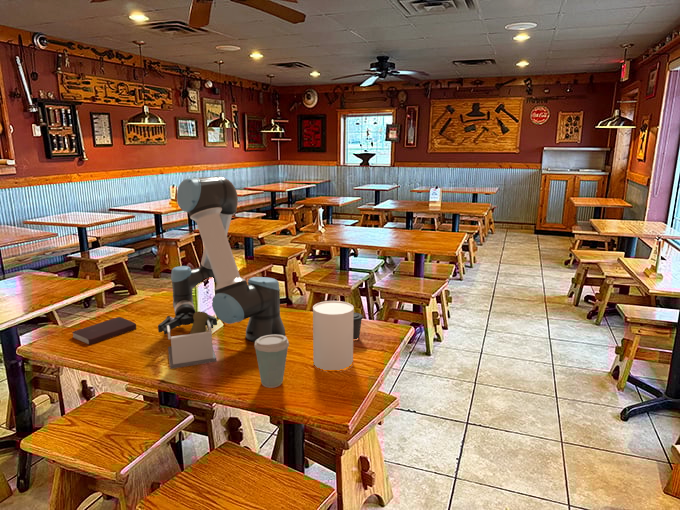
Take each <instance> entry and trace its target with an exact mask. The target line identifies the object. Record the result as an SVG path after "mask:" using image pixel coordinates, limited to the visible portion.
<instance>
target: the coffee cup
mask: <svg viewBox="0 0 680 510" xmlns="http://www.w3.org/2000/svg"><path fill="white" fill-rule="evenodd" d="M362 319H364V317H363V315H362V314H361V313H359V312H354V318H353V339H357V338H359V339H360V337H361V336H360V333H361V327H362Z"/></svg>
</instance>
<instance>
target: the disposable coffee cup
mask: <svg viewBox="0 0 680 510" xmlns="http://www.w3.org/2000/svg"><path fill="white" fill-rule="evenodd" d="M253 345H254V349H255V354H256V360H257V365H258V372H259V376H260V377H259V378H260V382H261V384H262V385H261V386H263V387H265V388H270V389H271V388H277V387H280V386H281V385H282V384H283V382H284V378H285V377H284V375H285V369H286V362H287V357H288V356H287V355H288V350H289V349H288V348H289V346H290V343H289V339H288V337H287V336H286V335H285V336H283V335H276V334H274V335H266V336H262V337H260V338H258V339H257V340H256V341H255V342H254V344H253Z"/></svg>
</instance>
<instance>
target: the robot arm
mask: <svg viewBox="0 0 680 510" xmlns="http://www.w3.org/2000/svg"><path fill="white" fill-rule="evenodd" d="M238 199H239V198H238V192H237V189H236V188H235V185H234V184H233V183H232V182H231V181H230V180H229V179H228V178H226V177H223V176H219V175H218V176H205V177H194V176H193V177H190V178H185V179H183V180H182V181H181V182H180V184H179V185H178V187H177V191H176V202H177V204H178V207H179V209H181V211H183V212H185V213H188V215H189V218H190V219H191V220H193V221H194V222H196V225H197V229H198V231H199V235H200V237H201V240H202V243H203V246H204V247H203V253H202V257H201V260H200V261H201V262H200V266H199V267H195V268H192V269H191V267H190V266H188V265H181V266H180V265H179V266H175V267H173V268H172V269H171V275H170V276H171V277H170V278H171V286H172V300H173V301H172V307H173V309H174V314H175V316H174V317H172V316H171V315H168V316H166V318H165V319H164V320H162V321H161V322H160V323H159V324H158V325H157V330H158V333H163V334H164V335H167V339H168V340H171V337H172V336H171V330H173V329H175V328H177V327H181V326H189V325H191V324H192V325H193V323H194V319H193V315H194V313H195V312H197V311H196V308H195V306H194V298H193V297H194V295H192V294H194V293H193V289H194V287H195V286H196V285H197V284H198V283H200V282H201V281H202V280H203V279H205V278H209V277H213V278H214V283H216V286H215V288H214V293H215V295H214V296H213V297H212V303H211V305H212V310H213V312H214V314H215V315H216V317H215V316H212V315H210V314H208V320H207V321H206V329H207V332H209V331H211V332H212V329H214V326H217V325H218V319H219V321H222V323H225V324H229V325H231V324H235V323H239V322H240V323H241V322H242V321H243V320H246V319H248V322H247V326H246V329H245V338H246V340H248V341H249V342H253V343H255V341H256V340H257V339H258V338H260V337H262V336H266V335H274V334H276V335H283V336H286V329H285V325H284V323H283V320H282V318H281V304H280V303H281V302H280V301H281V300H280V299H281V298H280V297H281V295H280V294H281V293H280V291H281V288H280V283H279V281H278V280H277V279H275V278H272V277H267V276H264V277H263V276H253V277H250V278H249V279H248V280H246V278H243V277H242V276H240V273H239V269H238V266H237V264H236V263H237V262H236V260H235V257H234V254H233V252H232V251H233V250H232V248H231V245H230V242H229V238H228V233H229V230H230V226H231V222H232V217H233V215H235V214H236V213H237V209H238V205H239V204H238V201H239V200H238ZM195 288H196V287H195ZM194 308H195V309H194Z"/></svg>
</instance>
